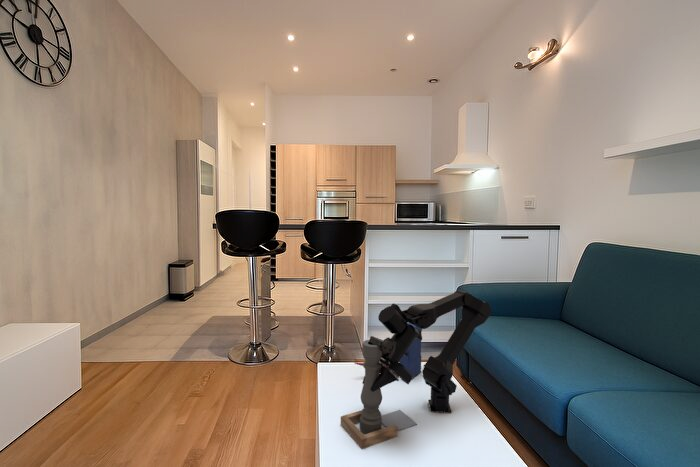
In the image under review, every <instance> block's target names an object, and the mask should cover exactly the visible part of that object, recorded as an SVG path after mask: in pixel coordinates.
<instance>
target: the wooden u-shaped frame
mask: <svg viewBox="0 0 700 467" xmlns="http://www.w3.org/2000/svg"><path fill="white" fill-rule="evenodd" d="M362 410H363V409H361V410H358V411H355V412H351V413H347V414H344V415H340V426H341V427H342V428H343V429H344V431H346V433H347V434H348V435H349V436H350V437H351V438H352V439H353V441H354V442H355V443H356V444H357V445H358V447H360V448H361V449H365V448H368V447H371V446H374V445H377V444H380V443H382V442H386V441H389V440H390V439H394V438H397V437H399V436H398V435H399V434H398V433H399V431H398V427H397V426H396V425H392V426H389V427H384V428H383V427H382V429H380V430H377V431H374V432H371V433H368V434H365V435H364V434H363V433H362V432H361V431H360V428H359V427H357V426H356V424H358V423H359V424H360V417H361V411H362Z"/></svg>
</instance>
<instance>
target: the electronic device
mask: <svg viewBox="0 0 700 467" xmlns="http://www.w3.org/2000/svg"><path fill="white" fill-rule="evenodd" d="M407 324H410V323H409V322H407ZM410 325H412V326H413V327H414V328H415V329H418V330H420V331H421V334H423V333H422V331H423V329H422V328H420V327H417V326H415V325H413V324H410ZM406 352H407V353H408V355H407V357H406V356H405V355H404V356H403V357H402V358H401V360H400V361H399V363H400V364H402V365H404V366H405V367H406V368H407V369H408V370H409V371H410V373H411V374H412V379H413V378H414V377H416V376H417V375H419V374H420V373H422V340H419V339H417V338H416V339H415V340H414V342H413V343H412V344H411V346H410V347H409V349H408V350H407V351H406ZM398 378H400V379H401V377H400V376H399V377H398Z"/></svg>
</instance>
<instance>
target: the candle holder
mask: <svg viewBox="0 0 700 467" xmlns="http://www.w3.org/2000/svg"><path fill="white" fill-rule="evenodd" d="M361 345H362V347H361V349H362V350H361V354H362V356H363V359H364V362H362V363H363V366H362V367H363V369H364V376H365V381H364V384H362V389H361V393H360V402H361V403H362V404H361V405H363V408H362V409H361V410H362V411H361V410H360V411H361V417H360V422H359V430H360V431H361V432H362V433H363V434H364V435H365V434H368V433H371V432H374V431H377V430H380V429H383V427H382V426H383V424H382V418H381V415H382V413H381V410H380V405H381V403H382V401H383V394H382V389H381V388H379V389H378V390H376V391H374V392H372V391H371V390H370V389H371V387H372V385H373V383H374V382H375V380H376V379H377V377H378V376H379V369H380V368H381V363H380V362H379V361H380V359H381V356H382V355H383V353H382V350H380V347H378V346H376V345H374V344H372V343H370V342H369V339H366V340H364V341H362V344H361Z"/></svg>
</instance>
